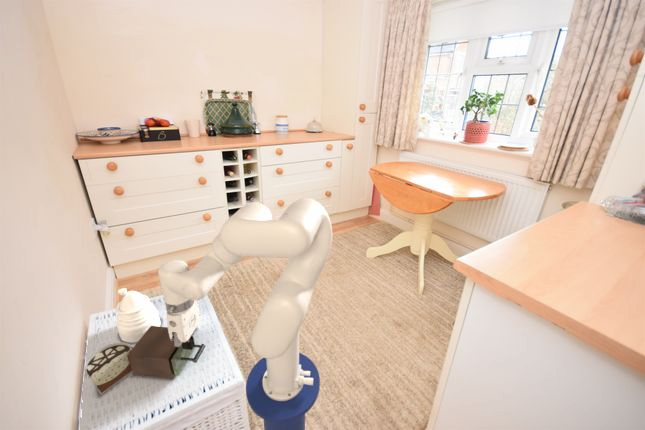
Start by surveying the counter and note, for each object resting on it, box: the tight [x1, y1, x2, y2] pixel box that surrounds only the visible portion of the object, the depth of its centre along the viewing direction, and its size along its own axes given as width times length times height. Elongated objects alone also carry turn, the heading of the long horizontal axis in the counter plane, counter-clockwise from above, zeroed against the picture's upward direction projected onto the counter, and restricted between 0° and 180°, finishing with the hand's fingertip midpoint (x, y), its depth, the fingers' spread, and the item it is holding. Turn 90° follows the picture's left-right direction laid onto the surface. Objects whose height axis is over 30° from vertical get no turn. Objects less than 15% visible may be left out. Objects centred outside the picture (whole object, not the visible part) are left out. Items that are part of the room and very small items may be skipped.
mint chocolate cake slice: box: [84, 342, 134, 395], centre depth 87 cm, size 12×6×10 cm, turn 149°
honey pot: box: [115, 287, 162, 344], centre depth 103 cm, size 13×13×18 cm
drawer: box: [170, 343, 206, 377], centre depth 92 cm, size 17×10×7 cm, turn 85°
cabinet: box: [127, 326, 177, 380], centre depth 93 cm, size 13×12×9 cm
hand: (188, 347), depth 91 cm, fingers closed
